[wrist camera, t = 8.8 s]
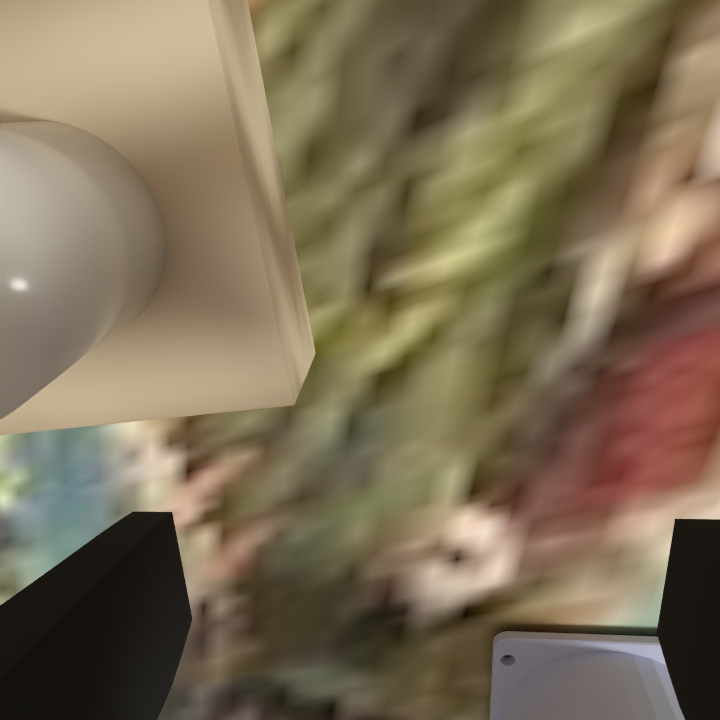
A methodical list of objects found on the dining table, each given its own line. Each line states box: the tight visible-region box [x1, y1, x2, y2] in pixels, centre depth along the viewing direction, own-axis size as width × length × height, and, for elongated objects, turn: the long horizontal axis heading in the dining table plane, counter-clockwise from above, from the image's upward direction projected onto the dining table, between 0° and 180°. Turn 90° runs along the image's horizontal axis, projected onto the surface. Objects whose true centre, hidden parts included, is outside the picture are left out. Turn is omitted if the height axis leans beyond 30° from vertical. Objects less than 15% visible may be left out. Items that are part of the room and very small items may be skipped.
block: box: [0, 0, 315, 435], centre depth 17 cm, size 10×10×4 cm
